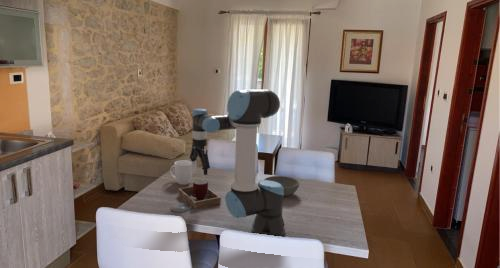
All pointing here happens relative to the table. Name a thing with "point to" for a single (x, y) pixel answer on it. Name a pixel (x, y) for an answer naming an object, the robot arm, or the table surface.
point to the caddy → (199, 204)
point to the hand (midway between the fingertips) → (199, 176)
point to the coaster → (180, 207)
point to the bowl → (285, 183)
